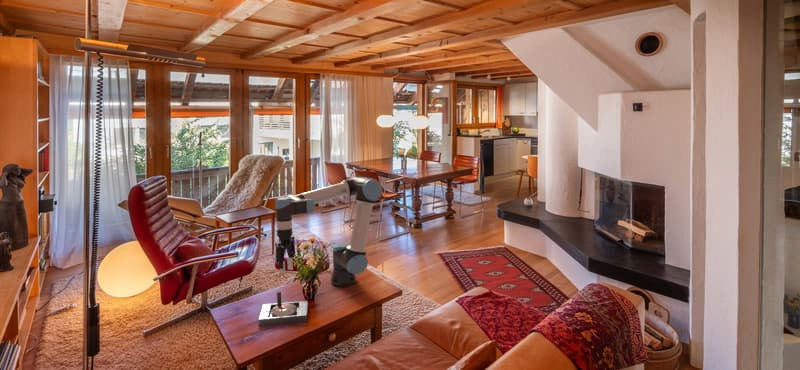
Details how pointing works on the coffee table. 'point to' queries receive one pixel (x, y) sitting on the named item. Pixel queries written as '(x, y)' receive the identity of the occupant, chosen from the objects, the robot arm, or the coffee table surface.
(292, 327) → the coffee table surface
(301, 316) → the dial housing
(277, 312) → the dial
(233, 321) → the coffee table surface
